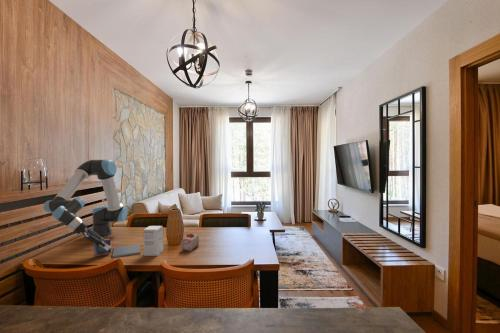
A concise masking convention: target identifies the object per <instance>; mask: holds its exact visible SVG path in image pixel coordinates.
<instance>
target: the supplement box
mask: <svg viewBox="0 0 500 333" xmlns="http://www.w3.org/2000/svg"><path fill="white" fill-rule="evenodd" d="M163 229H164V227H163V225H149V226H147V227H146V228H144V229H143V232H142V233H143V257H145V256H147V257H149V256H150V257H151V256H154V257H155V256H156V257H158V256H160V254H162V252H163V251H164V234H163V232H164V230H163Z"/></svg>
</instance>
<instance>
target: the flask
mask: <svg viewBox="0 0 500 333" xmlns="http://www.w3.org/2000/svg"><path fill="white" fill-rule="evenodd" d="M101 237H102V238H101V241H103V242H105V243H106V244H107V245H109V246H110V247H111V248H112V243H111V239H110V238H104V236H101ZM111 248H110V249H109V250H108V251H107V250H106V249H104V248H103V247H101V246H100V245H98V246H97V244H95V243H94V242H93V254H94V255H93V256H102V255H107V254H111V253H112V251H111V250H112V249H111Z"/></svg>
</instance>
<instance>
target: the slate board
mask: <svg viewBox="0 0 500 333" xmlns="http://www.w3.org/2000/svg"><path fill="white" fill-rule="evenodd" d="M133 255H141V245H140V243H138V244H129V245H122V246H121V245H120V246H115V247H113V251H112V256H111V257H112V259H114V258H115V259H116V258H120V257H126V256H127V257H128V256H133Z"/></svg>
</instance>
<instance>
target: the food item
mask: <svg viewBox="0 0 500 333" xmlns="http://www.w3.org/2000/svg"><path fill="white" fill-rule="evenodd" d="M199 241H200V239H199V234H197V233H190V234H188V233H186V237H184V238H182V240H181V241H180V243H181V244H180V248H181V250H182V251H187V252H192V250H194V249H196V248H197V247H198V246H199V243H200V242H199Z"/></svg>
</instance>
